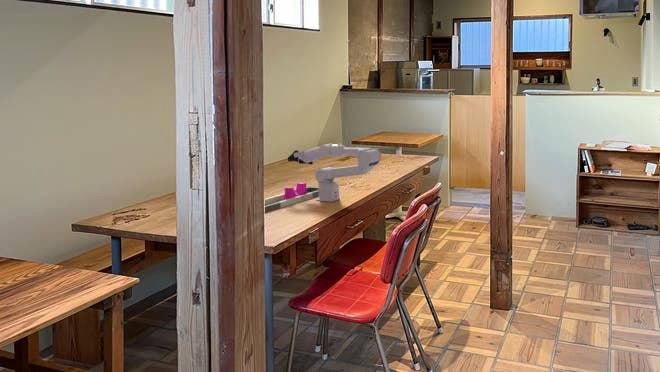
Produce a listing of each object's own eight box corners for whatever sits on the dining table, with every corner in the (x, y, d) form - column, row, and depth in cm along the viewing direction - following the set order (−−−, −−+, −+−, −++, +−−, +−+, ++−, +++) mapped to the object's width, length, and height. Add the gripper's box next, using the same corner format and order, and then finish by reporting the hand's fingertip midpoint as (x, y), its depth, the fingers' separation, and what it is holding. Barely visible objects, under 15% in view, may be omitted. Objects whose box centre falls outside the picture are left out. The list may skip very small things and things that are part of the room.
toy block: (295, 196, 349) (295, 182, 348) (306, 197, 347) (306, 182, 345) (280, 202, 336) (280, 187, 335) (292, 203, 333) (291, 188, 332)
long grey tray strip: (328, 193, 355) (327, 188, 355) (264, 212, 314) (264, 207, 314) (308, 191, 362) (308, 186, 362) (244, 209, 321) (244, 204, 321)
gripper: (323, 148, 345) (303, 154, 354) (302, 144, 335) (282, 150, 344) (324, 162, 344) (304, 168, 353) (303, 158, 333) (283, 164, 342)
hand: (293, 160), depth 348 cm, fingers open, 7 cm apart
